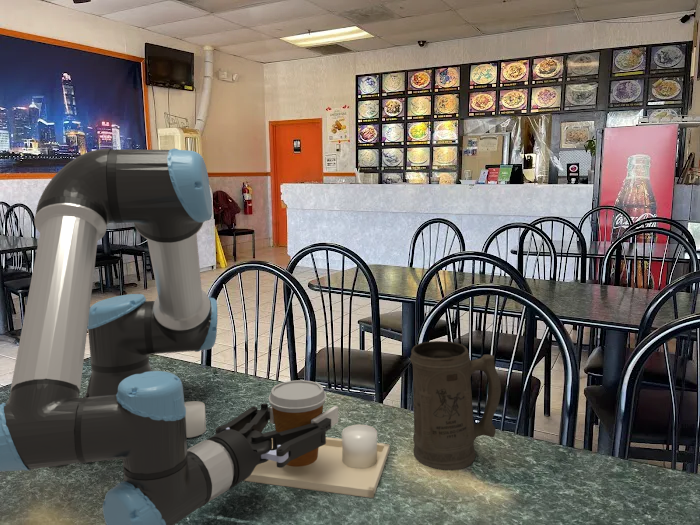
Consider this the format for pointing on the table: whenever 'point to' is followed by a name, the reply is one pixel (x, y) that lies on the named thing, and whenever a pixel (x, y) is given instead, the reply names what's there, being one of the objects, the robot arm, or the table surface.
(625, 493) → the table surface
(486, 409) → the beer stein
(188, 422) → the rounded white cap
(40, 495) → the table surface
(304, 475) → the serving tray
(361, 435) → the white rounded cylinder
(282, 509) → the table surface
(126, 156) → the robot arm
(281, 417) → the disposable coffee cup
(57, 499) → the table surface
